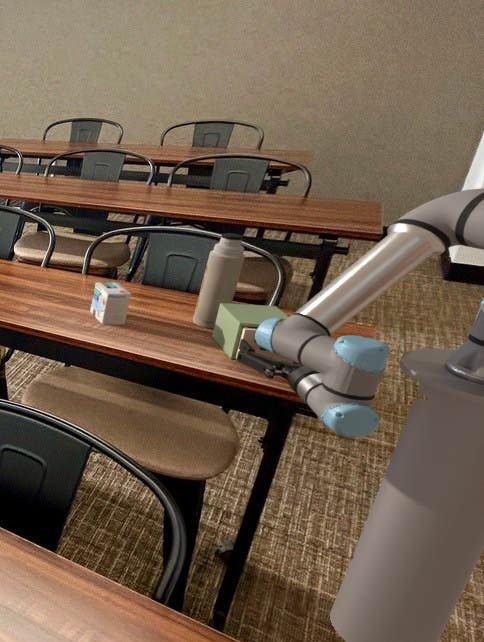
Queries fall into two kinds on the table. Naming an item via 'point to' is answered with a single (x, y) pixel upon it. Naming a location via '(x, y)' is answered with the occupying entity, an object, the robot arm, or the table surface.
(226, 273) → the thermos bottle
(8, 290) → the table surface
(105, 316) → the light bulb box
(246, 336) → the drawer
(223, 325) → the cabinet
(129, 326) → the table surface
